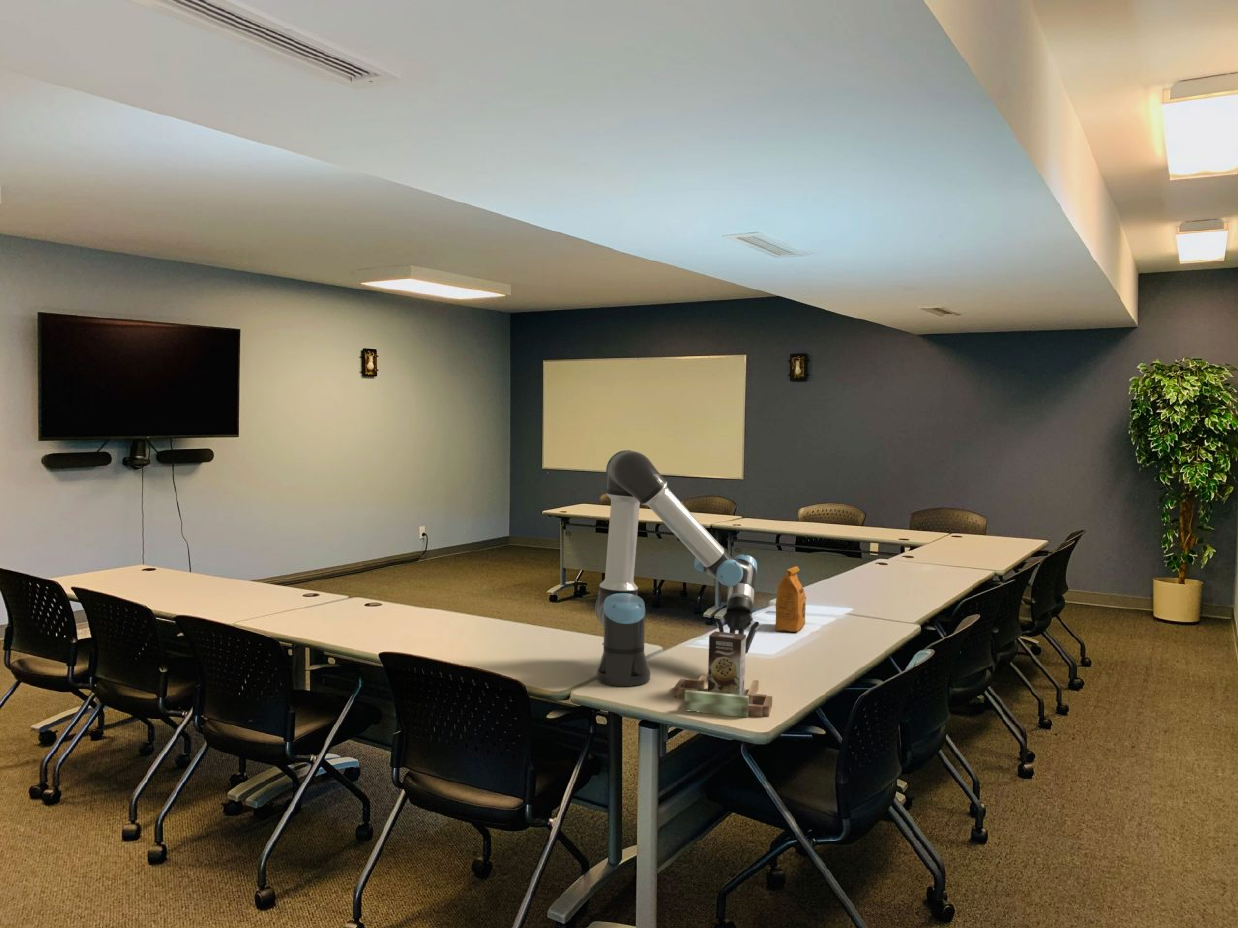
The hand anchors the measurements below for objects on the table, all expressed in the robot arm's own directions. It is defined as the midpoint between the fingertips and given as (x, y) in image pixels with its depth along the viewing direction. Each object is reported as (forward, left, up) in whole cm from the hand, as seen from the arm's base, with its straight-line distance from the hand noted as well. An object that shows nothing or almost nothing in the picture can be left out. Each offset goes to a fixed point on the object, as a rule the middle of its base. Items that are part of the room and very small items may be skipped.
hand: (731, 672), depth 244 cm
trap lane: (0, -15, -3) cm, 15 cm away
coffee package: (+11, +70, -3) cm, 71 cm away
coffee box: (0, -9, -3) cm, 10 cm away
